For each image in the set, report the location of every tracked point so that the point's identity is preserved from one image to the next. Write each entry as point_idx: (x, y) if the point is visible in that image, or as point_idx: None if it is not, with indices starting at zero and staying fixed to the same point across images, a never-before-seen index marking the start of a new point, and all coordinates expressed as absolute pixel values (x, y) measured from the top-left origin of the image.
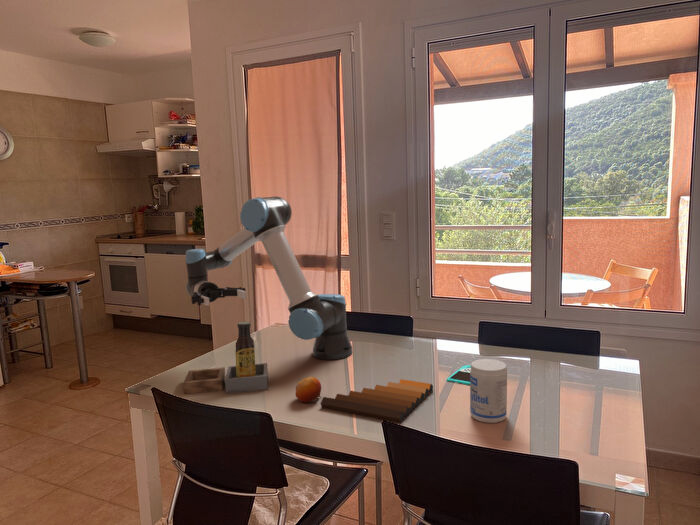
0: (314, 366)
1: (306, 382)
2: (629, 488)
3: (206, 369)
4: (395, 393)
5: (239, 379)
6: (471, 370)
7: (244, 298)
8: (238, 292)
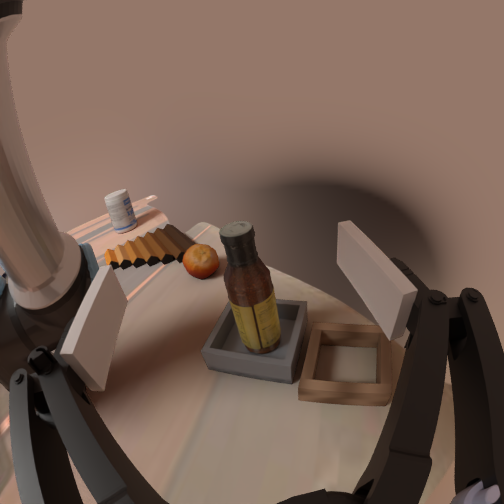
0: (117, 365)
1: (203, 245)
2: (154, 195)
3: (346, 388)
4: (142, 242)
5: (280, 300)
6: (124, 195)
7: (126, 298)
8: (90, 345)
